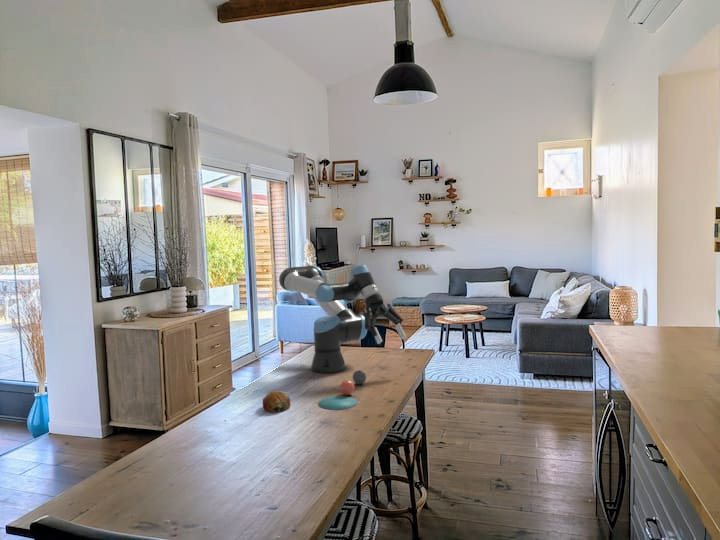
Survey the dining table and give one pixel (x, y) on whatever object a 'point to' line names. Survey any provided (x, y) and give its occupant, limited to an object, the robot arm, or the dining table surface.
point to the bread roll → (276, 401)
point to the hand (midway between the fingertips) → (392, 340)
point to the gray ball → (359, 377)
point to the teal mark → (337, 402)
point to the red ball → (347, 387)
